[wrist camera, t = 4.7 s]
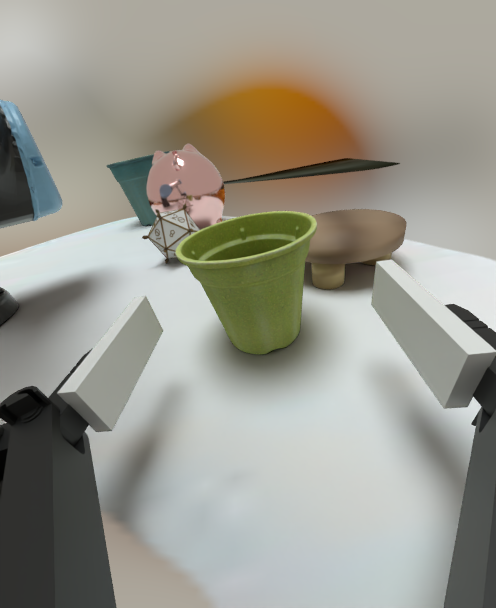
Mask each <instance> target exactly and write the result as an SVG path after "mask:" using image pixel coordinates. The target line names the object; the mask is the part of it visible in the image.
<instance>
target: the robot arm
mask: <svg viewBox="0 0 496 608" xmlns="http://www.w3.org/2000/svg"><path fill="white" fill-rule="evenodd" d="M61 206H62V199H61V197H60V194H59V192H58V190H57V187H56V185H55V183H54V181H53V179H52V177H51V174H50V172H49V170H48V168H47V166H46V164H45V162H44V160H43V158H42V155H41V153H40V152H39V149H38V147H37V145H36V143H35V141H34V139H33V137H32V135H31V133H30V131H29V129H28V126H27V125H26V122H25V120H24V119H23V116H22V114H21V113H20V111H19V109H18V107H17V106H16V105H15V104H14V103H12V102H9V101H3V100H0V228H4V227H8V226H12V225H17V224H21V223H25V222H29V221H35V220H37V219H38V218H40V217H43V216H46V215H49V214H53V213H56V212H57V211H59V210H60V209H61ZM371 305H372V306H373V308H374V309H375V311H376V312H377V313H378V315H379V316H380V318H381V319H382V321H383V322H384V324H385V325H386V326H387V328H388V329H389V331H390V332H391V334H392V335H393V336H394V338H395V339H396V341H397V342H398V344H399V345H400V347H401V348H402V349H403V351H404V352H405V354H406V355H407V357H408V358H409V359H410V361H411V362H412V364H413V365H414V367H415V368H416V369H417V371H418V372H419V374H420V375H421V377H422V378H423V380H424V381H425V382H426V384H427V385H428V387H429V388H430V390H431V391H432V392H433V394H434V395H435V397H436V398H437V400H438V401H439V402H440V404H441V405H442V407H443V408H444V409H446V408H461V407H468V405H469V403H470V402H471V400H472V398H473V397H474V398H475V399H476V400H477V401H478V403H479V404H480V405H481V406H482V407H481V409H480V410H479V412H478V414H477V415H476V417H475V419H474V420H473V422H472V425H474V426H476V429H475V435H474V440H473V446H472V451H471V457H470V463H469V468H468V474H467V479H466V485H465V491H464V496H463V502H462V508H461V513H460V519H459V524H458V530H457V536H456V541H455V547H454V552H453V558H452V564H451V569H450V575H449V580H448V586H447V592H446V597H445V603H444V608H496V332H494V331H493V330H492V329H491V328H488V326H487V325H486V324H484V323H483V322H482V321H479V319H478V318H477V317H476V316H474V315H473V314H472V313H471V312H469V311H468V310H466V309H464V308H462V307H459V306H457V305H455V304H449V305H443V304H442V303H441V302H440V301H439V300H438V299H437V298H435V297H434V296H433V295H432V294H431V293H430V292H429V291H427V290H426V289H425V288H424V287H423V286H422V285H421V284H419V283H418V282H417V281H416V280H415V279H414V278H413V277H411V276H410V275H409V274H408V273H407V272H406V271H405V270H403V269H402V268H401V267H400V266H399V265H398V264H397V263H395V262H394V261H393V260H392V259H391V260H384V261H378V262H376V269H375V277H374V285H373V294H372V302H371ZM18 306H19V304H18V303H17V301H16V300H15V299H14V298H13V297H12V296H11V295H10V293H9V292H7V291H6V290H4V289H3V288H1V287H0V325H1V324H2V323H3V322H5V321H6V320H7V319H8V318H9V317H11V316H12V315H13V314H14V313H15V311H16V310H17V309H18ZM162 332H163V329H162V327H161V325H160V323H159V321H158V319H157V317H156V315H155V313H154V311H153V309H152V307H151V305H150V303H149V301H148V299H147V297H146V296H142V297H136V298H133V300H132V301H131V302H130V303H129V305H128V306H127V307H126V308H125V310H124V311H123V312H122V313H121V315H120V316H119V317H118V318H117V320H116V321H115V322H114V323H113V324H112V326H111V327H110V328H109V329H108V331H107V332H106V333H105V334H104V336H103V337H102V338H101V339H100V341H99V342H98V343H97V344H96V346H95V347H94V348H93V349H91V350H90V351H89V352H88V353H86V354H85V355H84V356H83V357H82V358H81V359H80V360H79V362H78V363H77V364H76V366H75V367H74V368H73V369H72V370H71V371H70V373H69V374H68V375H67V376H66V377H65V379H64V380H63V381H62V382H61V383H60V385H59V386H58V387H57V388H56V390H55V391H54V392H53V393H52V394H51V396H50V397H49V398H48V397H46V396H45V395H44V394H43V393H42V392H41V391H40V390H39V389H38V388H37V387H34V386H30V387H25V388H23V389H21V390H18V391H17V392H15V393H13V394H12V395H10V396H9V397H8V398H7V399H5V400H4V401H3V402H2V403H1V404H0V418H1V419H3V420H4V421H5V422H7V423H6V424H3V425H0V608H116V603H115V596H114V591H113V584H112V578H111V572H110V566H109V560H108V554H107V548H106V542H105V536H104V529H103V523H102V517H101V511H100V505H99V499H98V493H97V487H96V481H95V475H94V469H93V462H92V456H91V450H90V444H89V438H88V436H87V434H86V433H85V432H84V431H85V430H86V428H87V426H88V425H90V426H91V427H92V428H93V429H94V430H95V431H96V432H103V431H112V430H113V428H114V426H115V424H116V422H117V420H118V418H119V416H120V414H121V413H122V411H123V409H124V407H125V405H126V403H127V401H128V399H129V397H130V395H131V393H132V391H133V389H134V387H135V385H136V383H137V381H138V379H139V377H140V375H141V373H142V371H143V369H144V367H145V365H146V364H147V362H148V360H149V358H150V356H151V354H152V352H153V350H154V348H155V346H156V344H157V342H158V340H159V338H160V336H161V334H162Z"/></svg>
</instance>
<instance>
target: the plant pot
mask: <svg viewBox="0 0 496 608" xmlns="http://www.w3.org/2000/svg"><path fill="white" fill-rule="evenodd" d="M316 230H317V222H316V220H315V218H314V217H312V216H310V215H308V214H306V213H299V212H292V211H276V212H264V213H257V214H251V215H246V216H241V217H237V218H233V219H229V220H226V221H222V222H219V223H216V224H214V225H211V226H209V227H206V228H204V229H201V230H199V231H197V232H195V233H193V234H192V235H190V236H188V237H186V238H185V239H184V240H183V241H181V243H180V244H179V245H178V246H177V248H176V252H175V253H176V256H177V258H178V260H179V261H180V262H181V263H182V264H184V265H187V266H188V267H189V269H190V271H191V273H192V274H193V276H194V277H195V278H196V279H197V280H198V281H200V283H201V285H202V287H203V288H204V290H205V292H206V294H207V296H208V298H209V300H210V302H211V304H212V305H213V307H214V309H215V311H216V313H217V315H218V317H219V319H220V321H221V323H222V325H223V327H224V329H225V331H226V333H227V335H228V337H229V339H230V340H231V342H232V344H233V345H234V346H235V347H236V348H238V349H239V350H241V351H243V352H246V353H251V354H267V353H268V352H270V351H272V350H275V349H278V348H285V347H287V346H288V345H290V344H291V343H292V342H293V341H294V340H295V339H296V337H297V336H298V334H299V331H300V323H301V309H302V295H303V282H304V269H305V258H306V257H307V255H308V252H309V246H310V239H311V238H312V237H313V236H314V234H315V233H316Z"/></svg>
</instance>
